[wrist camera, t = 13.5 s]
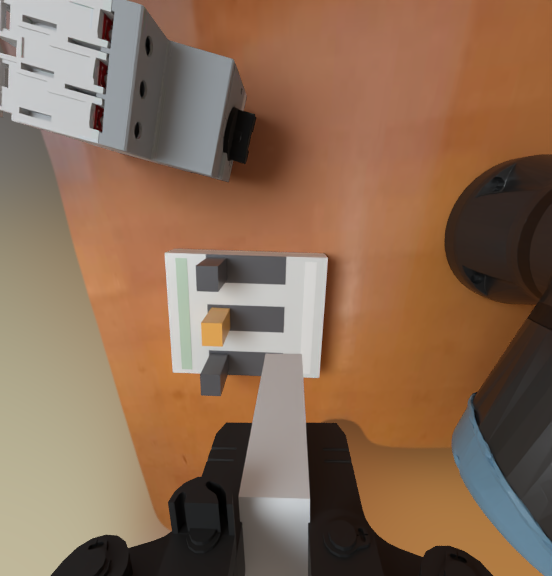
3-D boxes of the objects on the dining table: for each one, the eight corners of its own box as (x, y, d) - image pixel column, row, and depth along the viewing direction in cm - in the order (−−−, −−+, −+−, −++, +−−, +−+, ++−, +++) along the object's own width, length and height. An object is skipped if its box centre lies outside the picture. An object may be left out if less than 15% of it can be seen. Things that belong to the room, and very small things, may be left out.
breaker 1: (226, 257, 32) (217, 266, 28) (226, 280, 33) (218, 291, 29) (207, 257, 32) (195, 265, 28) (208, 279, 33) (196, 291, 29)
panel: (324, 253, 35) (327, 257, 32) (316, 364, 39) (319, 378, 36) (174, 248, 35) (164, 252, 32) (181, 359, 39) (172, 372, 36)
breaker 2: (227, 354, 35) (220, 375, 31) (228, 373, 36) (220, 396, 32) (210, 353, 35) (200, 374, 31) (210, 372, 36) (201, 395, 32)
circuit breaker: (250, 188, 33) (224, 178, 19) (119, 152, 33) (-12, 113, 18) (267, 113, 31) (253, 37, 17) (128, 73, 31) (-10, -41, 16)
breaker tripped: (229, 308, 34) (222, 323, 29) (230, 328, 34) (222, 346, 30) (211, 307, 34) (201, 322, 29) (212, 328, 34) (201, 345, 30)
